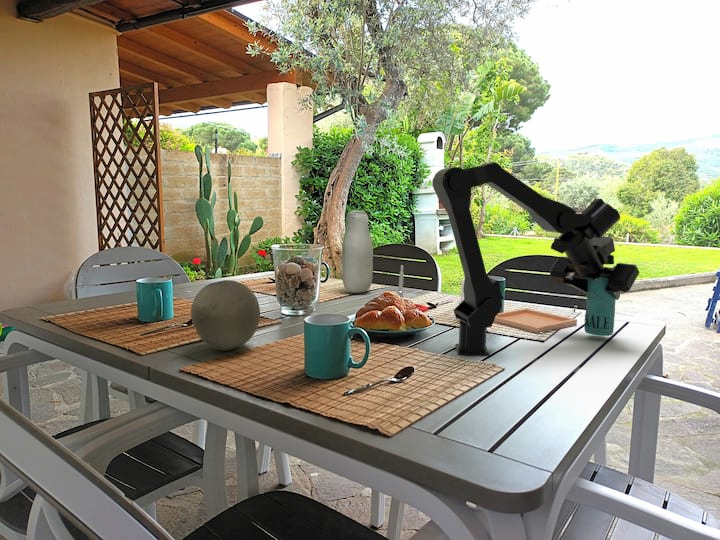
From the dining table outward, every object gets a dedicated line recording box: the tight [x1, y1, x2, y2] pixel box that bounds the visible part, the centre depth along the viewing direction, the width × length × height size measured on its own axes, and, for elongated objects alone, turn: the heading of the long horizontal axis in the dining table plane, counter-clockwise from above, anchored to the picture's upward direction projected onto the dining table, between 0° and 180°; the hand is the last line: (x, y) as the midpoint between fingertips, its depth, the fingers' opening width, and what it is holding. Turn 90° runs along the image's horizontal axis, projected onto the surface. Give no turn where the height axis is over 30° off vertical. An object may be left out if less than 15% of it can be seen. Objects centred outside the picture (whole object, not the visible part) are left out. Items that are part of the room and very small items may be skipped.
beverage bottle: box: [583, 254, 617, 337], centre depth 121 cm, size 6×7×20 cm
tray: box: [493, 307, 578, 334], centre depth 137 cm, size 16×16×2 cm
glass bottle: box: [341, 209, 374, 294], centre depth 175 cm, size 10×10×28 cm
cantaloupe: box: [190, 279, 261, 352], centre depth 110 cm, size 14×14×15 cm
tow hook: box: [397, 264, 429, 313], centre depth 151 cm, size 8×13×9 cm
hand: (604, 295), depth 122 cm, fingers closed on beverage bottle, 6 cm apart
